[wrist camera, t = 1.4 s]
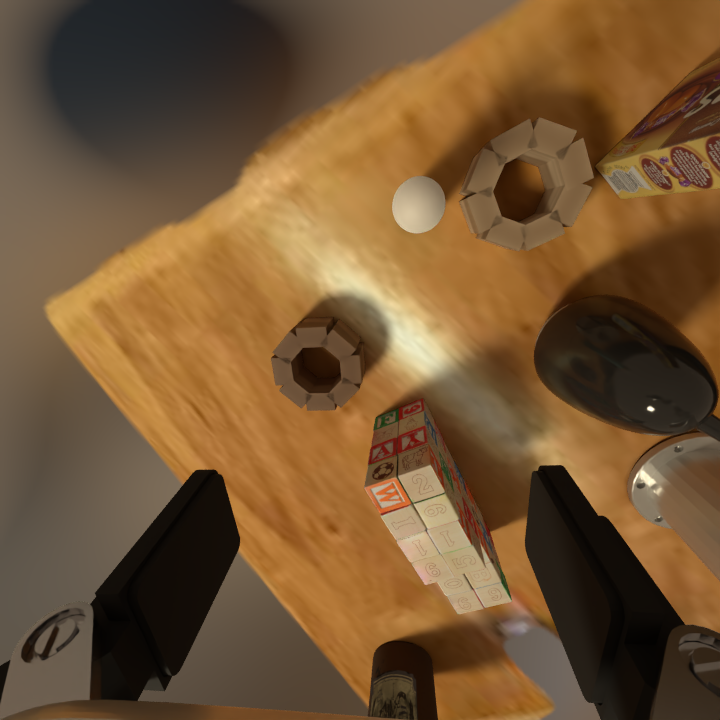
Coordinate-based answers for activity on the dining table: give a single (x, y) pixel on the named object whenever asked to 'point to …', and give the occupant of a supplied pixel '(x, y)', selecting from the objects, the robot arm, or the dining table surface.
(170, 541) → the robot arm
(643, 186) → the candy box
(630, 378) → the black tapered dome
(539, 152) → the bead
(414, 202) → the teal cylinder white end
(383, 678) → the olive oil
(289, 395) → the bead
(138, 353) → the dining table surface
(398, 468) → the stack of blocks
